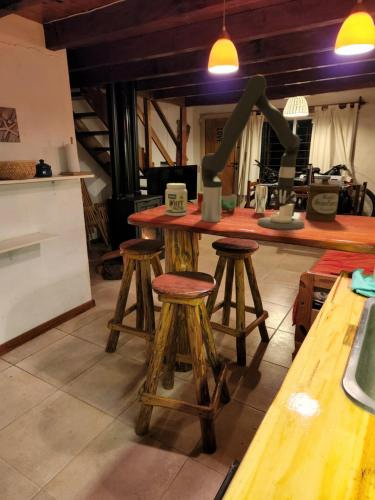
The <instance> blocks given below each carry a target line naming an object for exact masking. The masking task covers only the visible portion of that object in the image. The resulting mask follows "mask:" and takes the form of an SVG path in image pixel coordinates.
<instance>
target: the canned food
mask: <svg viewBox="0 0 375 500" xmlns="http://www.w3.org/2000/svg"><path fill="white" fill-rule="evenodd" d="M202 201H203V190H201V191H197V211H198V212H202Z"/></svg>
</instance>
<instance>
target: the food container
mask: <svg viewBox="0 0 375 500" xmlns="http://www.w3.org/2000/svg"><path fill="white" fill-rule="evenodd" d="M237 199H238V197H237V195H236V194H235V193H231V194H230V195H221V214H234V213H235V209H236V201H237Z"/></svg>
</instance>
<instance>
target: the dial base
mask: <svg viewBox="0 0 375 500" xmlns="http://www.w3.org/2000/svg"><path fill="white" fill-rule="evenodd" d="M270 218H271V216H264V217H259V218H258V219H257V225H258V226H261V227H263V228H267V229H271V230H273V229H274V230H282V231H284V230H285V231H288V230H291V231H294V230H300V229H303V228H304V227H305V222H304V221H303V220H301V219H297V218H293V217H292V221H291V222H290V223H277V222H272V221H270Z"/></svg>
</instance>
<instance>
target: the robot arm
mask: <svg viewBox="0 0 375 500" xmlns="http://www.w3.org/2000/svg"><path fill="white" fill-rule="evenodd" d="M266 89H267V80H266V78H265V77H264V76H263V75H262V74H255V75H253V76H252V77H251V78H249V80H248V81H247V83H246V86H245V88H244V91H243V93H242V95H241V98H240V99H239V100H238V102H237V104H236V105H235V107H234V109H233V110H232V112H231V113H230V115H229V117H228V118H227V121H226V122H225V125H224V126H223V130H222V139H221V142H220V144H219V146H218V147H217V148H216V149H217V150H215V152H214V153H213V152H211V153H206V154H205V155H204V156H203V157H202V160H201V180H202V184H203V187H202V188H203V189H202V191H203V201H202V211H201V215H200V216H201V218H200V219H201V220H202V221H203V222H204V223H205V222H208V223H214V222H215V223H216V222H217V223H218V222H221V217H222V215H221V214H222V203H221V196H222V189H223V185H222V184H223V183H222V180H221V179H220V178H219V176H218V174H219V173H221V172H222V171H223V170H224V169H225V168H226V166H227V163H228V161H229V159H230V156H231V154H232V152H233V150H234V148H235V146H236V144H237V143H238V140H239V139H240V137H241V135H242V134H243V133H244V130H245V129H246V127H247V124H248V122H249V120H250V118H251V114H252V111H253V109H254V107H256V109H257V110H259V112H261V114H262V115H263V116H264V118H265V119H266V120H267V122H268V123H269V125H270V126H271V128H272V130H274V132H275V134H276V135H277V138H278V140H279V143H280V144H281V146H282V147H283V148H284V152H283V155H282V156H281V160H280V168H279V172H278V180H277V187H276V189H275V190H272V191H271V193H272V195H273V196H274V198H275V200H276V202H278V203H279V206H278V209H279V210H280V207H281V206H284V205H287V204H290V203H291V202H292V201H293V200H294V199H295V197H297V195H298V194H297V193H296V192H295V191H294V188H293V187H294V181H295V176H296V164H297V156H298V153H299V150H300V146H301V138H300V136H299V135H298V134H295V133H293V131H292V130H291V128H290V124H289V122H288V120H287V118H285V116H284V114H283V113H282V112H281V111H280V110H279V109H277V108H276V107H275V106H274V105H273V104H272V103H271V102H270V100H269V99H268V97H267V95H266Z"/></svg>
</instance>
